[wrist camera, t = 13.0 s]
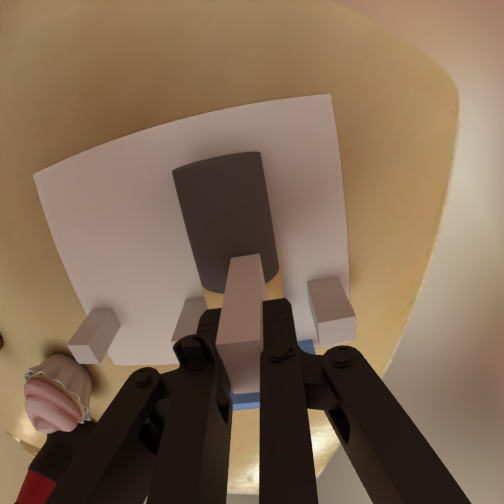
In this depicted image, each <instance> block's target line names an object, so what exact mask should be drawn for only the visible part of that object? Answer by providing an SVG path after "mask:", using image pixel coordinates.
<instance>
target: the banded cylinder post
mask: <svg viewBox="0 0 504 504" xmlns="http://www.w3.org/2000/svg"><path fill="white" fill-rule="evenodd" d="M172 175H173V179H174V183H175V188H176V192H177V196H178V200H179V204H180V208H181V212H182V216H183V219H184V223H185V227H186V231H187V235H188V238H189V242H190V246H191V249H192V253H193V256H194V260H195V264H196V267H197V271H198V274H199V278H200V284H201V287H202V291H203V294H204V297H205V300H206V304H207V307H208V309H215V308H222V304H223V298H224V293H225V287H226V282H227V276H228V271H229V265H230V260H231V258H234V257H240V256H247V255H253V254H260V259H261V264H262V269H263V275H264V280H265V285H266V290H267V296H268V300H274V299H280V298H284V291H283V284H282V277H281V271H280V264H279V262H278V256H277V250H276V243H275V237H274V231H273V224H272V218H271V212H270V206H269V200H268V194H267V188H266V182H265V176H264V170H263V164H262V159H261V153H260V152H242V153H235V154H228V155H223V156H218V157H213V158H209V159H205V160H201V161H197V162H193V163H190V164H187V165H184V166H181V167H178V168H176V169H174V170H173V171H172Z"/></svg>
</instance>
